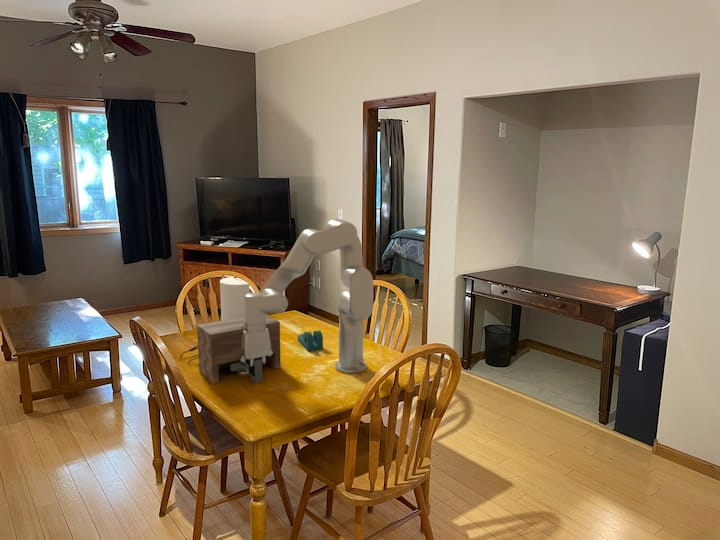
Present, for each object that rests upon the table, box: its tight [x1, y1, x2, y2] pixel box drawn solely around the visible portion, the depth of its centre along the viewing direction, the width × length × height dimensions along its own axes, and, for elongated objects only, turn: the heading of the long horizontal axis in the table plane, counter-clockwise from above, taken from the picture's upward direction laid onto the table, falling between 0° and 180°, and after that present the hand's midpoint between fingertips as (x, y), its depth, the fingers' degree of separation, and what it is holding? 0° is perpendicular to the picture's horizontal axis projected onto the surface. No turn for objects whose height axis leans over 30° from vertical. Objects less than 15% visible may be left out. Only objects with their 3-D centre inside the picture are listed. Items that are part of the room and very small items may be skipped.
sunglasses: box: [179, 345, 199, 364], centre depth 223 cm, size 10×12×5 cm
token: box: [236, 368, 249, 376], centre depth 210 cm, size 5×5×1 cm
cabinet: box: [196, 313, 282, 385], centre depth 210 cm, size 14×28×19 cm, turn 126°
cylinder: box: [219, 276, 250, 321], centre depth 243 cm, size 17×17×28 cm
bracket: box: [297, 330, 324, 353], centre depth 241 cm, size 18×7×8 cm, turn 24°
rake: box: [229, 358, 264, 385], centre depth 206 cm, size 17×8×9 cm, turn 36°
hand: (256, 373), depth 200 cm, fingers closed on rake, 3 cm apart
